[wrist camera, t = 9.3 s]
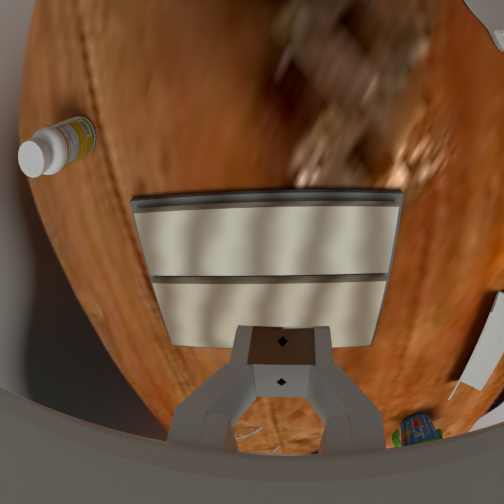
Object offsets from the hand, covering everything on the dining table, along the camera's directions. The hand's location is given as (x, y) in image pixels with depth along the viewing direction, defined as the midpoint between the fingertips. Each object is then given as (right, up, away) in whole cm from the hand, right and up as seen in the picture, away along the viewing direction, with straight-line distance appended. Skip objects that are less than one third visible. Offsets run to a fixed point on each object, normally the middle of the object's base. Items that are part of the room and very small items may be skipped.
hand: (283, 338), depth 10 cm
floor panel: (+1, -1, +31) cm, 31 cm away
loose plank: (+1, -5, +32) cm, 33 cm away
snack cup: (+39, -38, +51) cm, 74 cm away
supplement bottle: (-22, +17, +22) cm, 36 cm away
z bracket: (+44, -14, +36) cm, 58 cm away
